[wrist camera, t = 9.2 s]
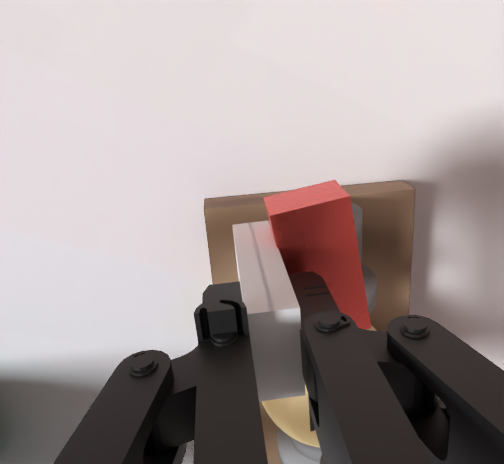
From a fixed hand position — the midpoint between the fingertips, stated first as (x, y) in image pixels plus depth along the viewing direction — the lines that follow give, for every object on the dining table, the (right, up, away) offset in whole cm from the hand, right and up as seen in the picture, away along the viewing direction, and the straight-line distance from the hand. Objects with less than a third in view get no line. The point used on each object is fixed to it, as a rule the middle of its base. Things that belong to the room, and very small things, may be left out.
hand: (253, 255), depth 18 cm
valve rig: (+4, -6, +14) cm, 15 cm away
